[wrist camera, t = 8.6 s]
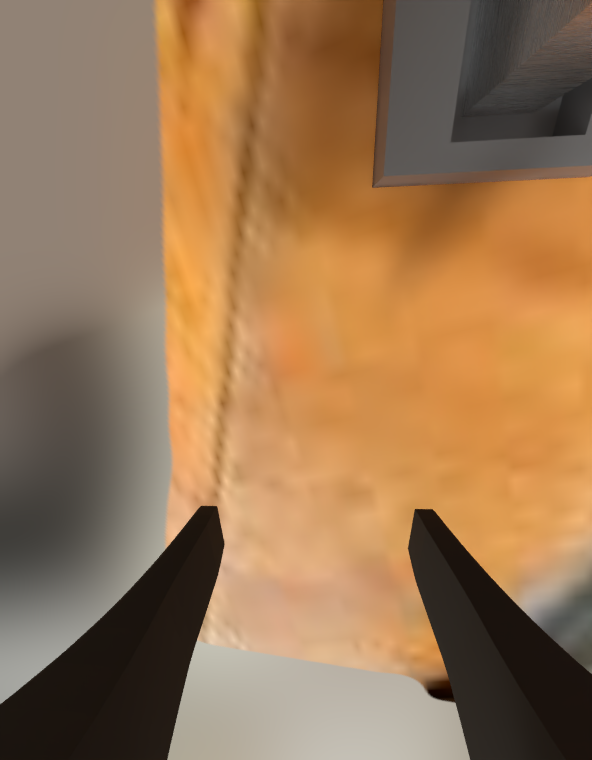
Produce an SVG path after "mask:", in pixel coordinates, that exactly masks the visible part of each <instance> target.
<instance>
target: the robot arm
mask: <svg viewBox="0 0 592 760" xmlns="http://www.w3.org/2000/svg"><path fill="white" fill-rule="evenodd" d="M223 549H224V539H223V534H222V529H221V524H220V518H219V513H218V508H217V506H201V507H200V508H199V509H198V510H197V511H196V512H195V514H194V515H193V516H192V517H191V519H190V520H189V521H188V523H187V524H186V525H185V526H184V528H183V529H182V530H181V531H180V533H179V534H178V535H177V536H176V538H175V539H174V540H173V541H172V542H171V544H170V545H169V546H168V547H167V548H166V549H165V551H164V552H163V553H162V554H161V555H160V557H159V558H158V559H157V560H156V561H155V562H154V564H153V565H152V566H151V567H150V568H149V569H148V570H147V571H146V573H145V574H144V575H143V576H142V577H141V578H140V579H139V580H138V581H137V582H136V583H135V584H134V586H133V587H132V588H131V589H130V590H129V591H128V592H127V593H126V594H125V595H124V596H123V597H122V598H121V599H120V600H119V601H118V602H117V603H116V604H115V605H114V606H113V607H112V608H111V609H110V610H109V611H108V612H107V613H106V614H105V615H104V616H103V617H102V618H101V619H100V620H99V621H98V622H97V623H95V624H94V626H92V627H91V628H90V629H89V630H88V631H87V632H86V633H85V634H84V635H82V636H81V637H80V638H79V639H78V640H77V641H76V642H75V643H74V644H73V645H71V646H70V647H69V648H68V649H67V650H66V651H65V652H63V653H62V654H61V655H60V656H59V657H58V658H56V659H55V660H54V661H53V662H52V663H50V664H49V665H48V666H47V667H46V668H44V669H43V670H42V671H41V672H40V673H39V674H37V675H36V676H35V677H34V678H32V679H31V680H30V681H29V682H27V683H26V684H25V685H24V686H23V687H21V688H20V689H19V690H18V691H17V692H16V693H14V694H13V695H12V696H10V697H9V698H8V699H6V700H5V701H4V702H3V703H1V704H0V760H167V758H168V753H169V749H170V744H171V740H172V736H173V731H174V726H175V723H176V718H177V714H178V710H179V705H180V701H181V697H182V693H183V689H184V685H185V681H186V677H187V672H188V668H189V664H190V661H191V658H192V654H193V651H194V647H195V644H196V641H197V638H198V635H199V632H200V629H201V626H202V623H203V620H204V617H205V614H206V611H207V608H208V605H209V601H210V598H211V595H212V592H213V589H214V586H215V583H216V580H217V576H218V572H219V568H220V564H221V559H222V554H223ZM408 550H409V555H410V559H411V563H412V568H413V572H414V576H415V580H416V583H417V586H418V589H419V592H420V595H421V598H422V600H423V603H424V606H425V609H426V612H427V615H428V618H429V621H430V623H431V626H432V629H433V632H434V635H435V638H436V641H437V644H438V646H439V649H440V652H441V655H442V658H443V661H444V664H445V667H446V670H447V674H448V677H449V680H450V684H451V688H452V691H453V695H454V699H455V702H456V706H457V710H458V713H459V717H460V721H461V725H462V729H463V733H464V736H465V741H466V744H467V748H468V752H469V756H470V760H592V674H591V673H590V672H589V671H587V670H586V669H585V668H584V667H583V666H582V665H580V664H579V663H578V662H577V661H576V660H575V659H574V658H572V657H571V656H570V655H569V654H568V653H567V652H566V651H565V650H564V649H563V648H561V647H560V646H559V645H558V644H557V643H556V642H555V641H554V640H553V639H552V638H551V637H550V636H548V635H547V634H546V633H545V632H544V631H543V630H542V629H541V628H540V627H539V626H538V625H537V624H536V623H535V622H534V621H533V620H532V619H531V618H530V617H529V616H528V615H527V614H526V613H525V612H524V611H523V610H522V609H521V608H520V607H519V606H518V605H517V604H516V603H515V602H514V601H513V600H512V599H511V598H510V597H509V596H508V595H507V594H506V593H505V592H504V591H503V590H502V589H501V588H500V587H499V586H498V585H497V583H496V582H495V581H494V580H493V579H492V578H491V577H490V576H489V575H488V574H487V573H486V571H485V570H484V569H483V568H482V567H481V566H480V565H479V564H478V562H477V561H476V560H475V559H474V558H473V557H472V556H471V555H470V553H469V552H468V551H467V550H466V549H465V548H464V546H463V545H462V544H461V543H460V542H459V540H458V539H457V538H456V537H455V536H454V535H453V533H452V532H451V531H450V530H449V528H448V527H447V526H446V525H445V524H444V522H443V521H442V520H441V519H440V517H439V516H438V515H437V514H436V512H435V511H434V510H433V509H415V512H414V517H413V523H412V529H411V535H410V540H409V546H408Z"/></svg>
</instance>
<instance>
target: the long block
mask: <svg viewBox="0 0 592 760" xmlns="http://www.w3.org/2000/svg"><path fill="white" fill-rule="evenodd" d="M591 78H592V0H479V3H478V10H477V16H476V23H475V29H474V36H473V43H472V49H471V56H470V62H469V69H468V75H467V82H466V88H465V95H464V101H463V108H462V115H461V117H475V116H492V115H508V114H525V113H535V112H536V111H538V110H540V109H541V108H543V107H545V106H546V105H548V104H550V103H551V102H553V101H554V100H556V99H558V98H559V97H561V96H563V95H564V94H566V93H568V92H569V91H571V90H572V89H574V88H576V87H577V86H579V85H581V84H582V83H584V82H586V81H587V80H589V79H591Z"/></svg>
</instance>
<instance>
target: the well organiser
mask: <svg viewBox="0 0 592 760" xmlns="http://www.w3.org/2000/svg"><path fill="white" fill-rule="evenodd" d="M478 3H479V0H384V1H383V18H382V34H381V51H380V68H379V84H378V101H377V118H376V135H375V151H374V168H373V185H372V188H375V187H395V186H415V185H436V184H456V183H476V182H496V181H516V180H536V179H556V178H576V177H590V176H592V78H591V79H589V80H587V81H586V82H584V83H582V84H581V85H579V86H577V87H576V88H574V89H572V90H571V91H569V92H568V93H566V94H564V95H563V96H561V97H559V98H558V99H556V100H554V101H553V102H551V103H550V104H548V105H546V106H545V107H543V108H541V109H540V110H538V111H536V112H535V113H525V114H508V115H492V116H475V117H461V115H462V108H463V101H464V95H465V88H466V82H467V75H468V69H469V62H470V56H471V49H472V43H473V36H474V29H475V23H476V16H477V10H478Z"/></svg>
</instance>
